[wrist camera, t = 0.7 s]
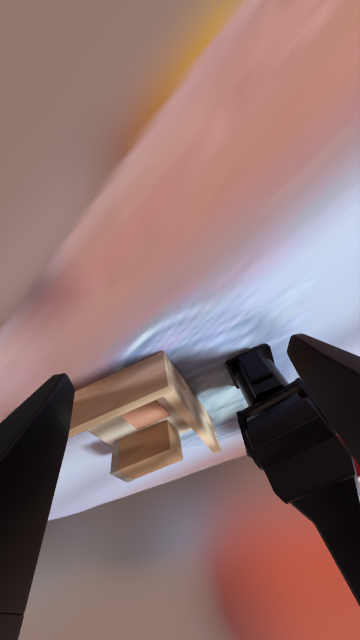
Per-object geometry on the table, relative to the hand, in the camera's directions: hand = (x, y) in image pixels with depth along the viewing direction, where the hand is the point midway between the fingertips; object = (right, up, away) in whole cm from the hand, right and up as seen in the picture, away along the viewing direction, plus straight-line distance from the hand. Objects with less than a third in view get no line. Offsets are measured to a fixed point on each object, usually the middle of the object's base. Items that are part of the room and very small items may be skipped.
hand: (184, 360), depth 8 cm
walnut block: (-6, -18, +27) cm, 33 cm away
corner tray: (-6, -13, +24) cm, 28 cm away
